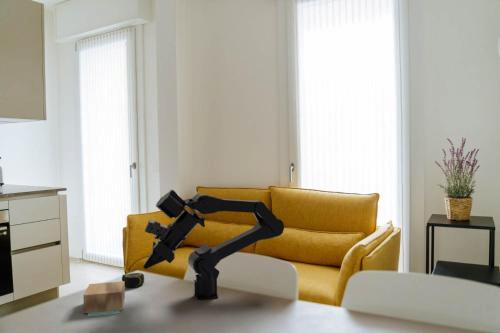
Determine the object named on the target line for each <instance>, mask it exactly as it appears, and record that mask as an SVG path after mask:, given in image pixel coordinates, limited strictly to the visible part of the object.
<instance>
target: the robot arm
mask: <svg viewBox="0 0 500 333" xmlns="http://www.w3.org/2000/svg"><path fill="white" fill-rule="evenodd" d="M155 207H156V208H157V209H158V210H159V211H161V212H162V213H163V214H164V215H165V216H166V217H167V218H169V219H172V218H174V219H175V220H174V221H173V222H171V223H169V224H168V225H165V224H163V223H161V222H160V221H159V222H158V221H157V220H156V221H155V220H152V219H149V220H148V222H147V225H146V226H145V229H144V232H145V233H147V234H152V235H154V239H155V240H156V239H157V241H152V251H151V252H150V253H149V256H148V258H147V259H146V261H145V262H144V263H143V267H142V268H143V269H145V270H147V269H149V268H151V267H154V266H156V265H159V264H160V263H163V262H165V261H166V262H167V263H169V264H171V263H172V262H173V261H174V260H175V259H176V258H175V255H176V254H175V252H176V250H177V247H178V246H179V245H180V244H181V243H182V241H183V242H185V241H186V239H187V236H189V234H190V233H192V231H193V230H194V229H195V228H196V226H197V225H200V226H201V227H202V228H205V227H206V225H205V224H206V223H205V221H206V218H205V217H204V216H199V215H198V214H197V213H199V214H201V215H209V214H210V215H211V214H216V213H221V212H230V213H232V212H234V213H251V214H253V215H254V217H255V219H256V221H257V222H256V223H255V225H254V226H253V227H252V228H250V229H249V230H248V229H247V230H246V231H244V232H242V233H240V234H238V235H236V236H234V237H232V238H230V239H227V240H225V241H223V242H222V243H219V244H217V245H215V246H213V247H211V246H210V245H207V244H203V245H201V246H200V247H198V248H193V251H192V252H191V253H189V256H188V259H187V264H188V266H189V267H190V268H191V269H192V270H193V271H194V273H195V279H193V295H194V296H195V297H196V300H208V299H209V300H210V299H218V298H219V294H218V278H219V275H220V271H219V269H217V268H216V266H217V265H218V264H219V263H220V262H221V261H222V260H224V259H225V258H228V257H230V256H231V255H233V254H235V253H238V252H240V251H242V250H243V249H246V248H248V247H250V246H252V245H253V244H255V243H257V242H259V241H262V240H263V241H264V240H265V241H266V240H270V239H271V240H272V239H274V238H278V237H280V236H282V235H283V234H284V231H285V224H284V222H283V221H282V220H281V219H280V218H277V216H276V215H275V214H274V213H273V212H272V211H271V210H270V209H269V208H268V207H267V205H266V204H265V203H264V202H263V201H259V200H257V199H255V200H248V199H247V200H244V199H243V200H242V199H229V198H228V199H227V198H220V197H216V196H211V195H208V194H205V193H197V194H195V195H194V196H193V197H192V198H187V199H183V198H182V197H181V196H179V195H178V194H177V192H176V191H175V190H174V189H170V190H169V191H168V192H167V193H165V194H164V195H163V196H161V197H160V198H159V199H158V201H157V202H156V204H155ZM186 208H188V209H190V210H193V211H189V210H188V209H186ZM196 212H197V213H196Z"/></svg>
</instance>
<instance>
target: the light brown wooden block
mask: <svg viewBox="0 0 500 333" xmlns="http://www.w3.org/2000/svg"><path fill="white" fill-rule="evenodd" d="M125 290H126V286H125V281H122V280H120V281H110V282H100V283H98V282H97V283H89V284H88V286H87V288H86V290H85V292H84V293H83V314H89V313H92V312H103V311H114V310H120V311H121V310H123V307H124V303H125V299H126V291H125Z"/></svg>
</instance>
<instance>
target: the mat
mask: <svg viewBox="0 0 500 333" xmlns="http://www.w3.org/2000/svg"><path fill="white" fill-rule="evenodd" d="M120 311H121V310H114V311H103V312H92V313H87V318H88V317H98V316H108V315H110V316H111V315H117V314H120Z"/></svg>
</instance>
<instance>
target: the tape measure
mask: <svg viewBox="0 0 500 333" xmlns="http://www.w3.org/2000/svg"><path fill="white" fill-rule="evenodd" d="M121 281H125V287H130V288H131V287H132V288H135V287H134V286H136V287H139V286H142V285H143V284H145V275H144V273H140V272H133V273H127V274H122V276H121Z"/></svg>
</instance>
